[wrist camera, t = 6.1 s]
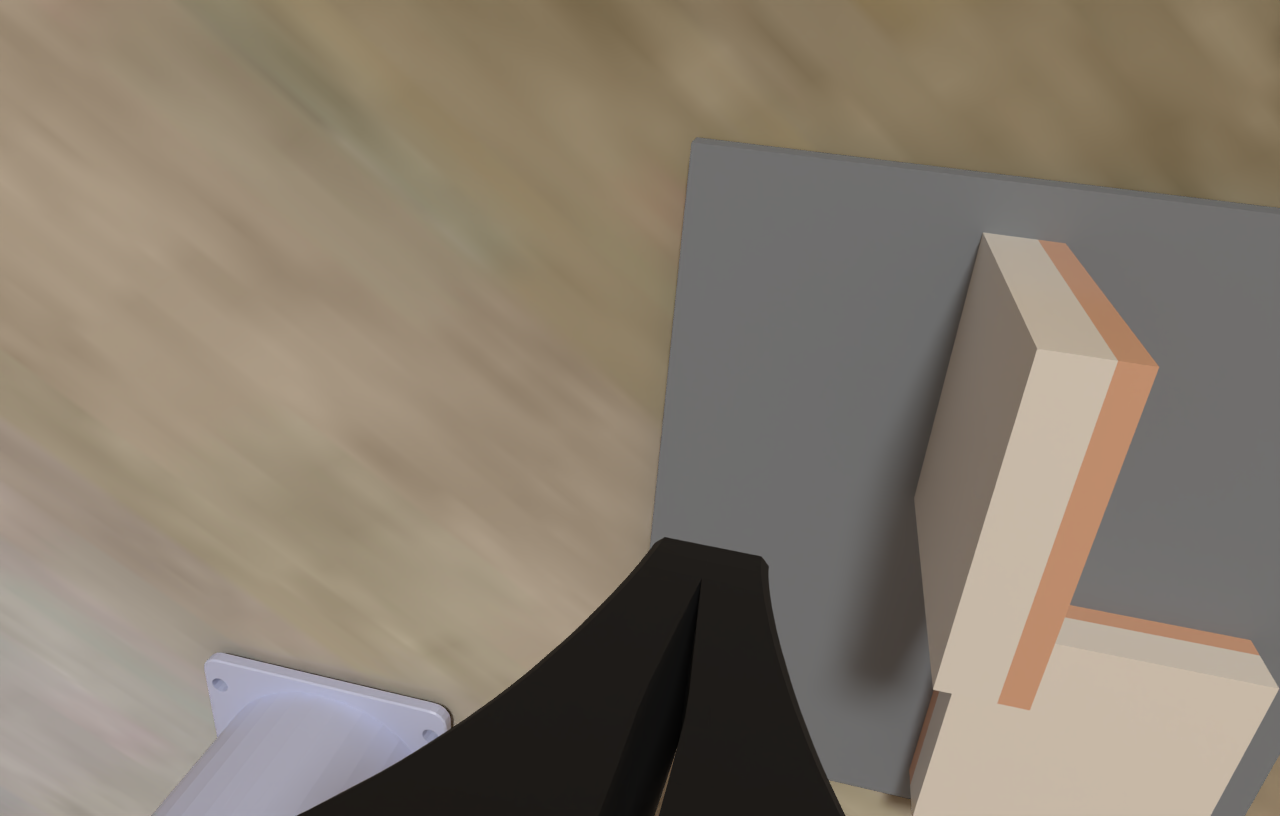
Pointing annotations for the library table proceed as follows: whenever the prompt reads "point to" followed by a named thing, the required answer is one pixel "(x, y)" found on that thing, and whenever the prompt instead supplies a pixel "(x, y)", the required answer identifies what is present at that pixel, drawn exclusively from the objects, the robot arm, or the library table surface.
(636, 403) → the library table surface
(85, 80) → the library table surface
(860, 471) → the slate mat
